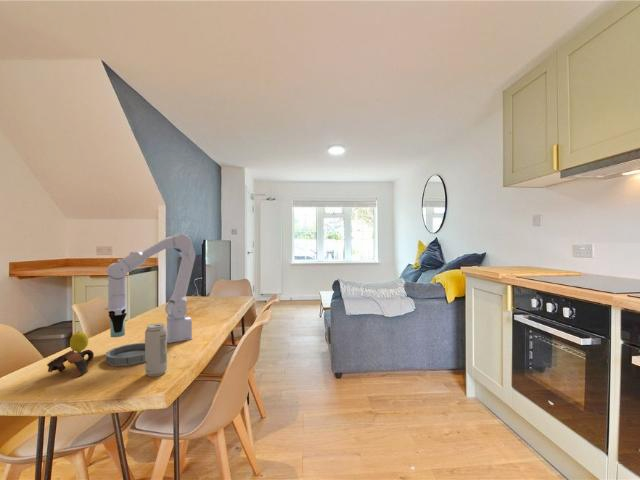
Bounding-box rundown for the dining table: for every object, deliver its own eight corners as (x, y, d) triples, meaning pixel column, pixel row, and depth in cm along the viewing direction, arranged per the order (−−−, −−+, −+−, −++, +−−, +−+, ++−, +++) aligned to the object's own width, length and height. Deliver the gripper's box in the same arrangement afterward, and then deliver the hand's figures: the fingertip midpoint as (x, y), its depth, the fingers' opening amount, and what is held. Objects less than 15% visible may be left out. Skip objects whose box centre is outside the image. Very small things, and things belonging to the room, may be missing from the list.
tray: (154, 347, 127) (154, 340, 127) (160, 359, 114) (160, 351, 114) (105, 355, 118) (105, 348, 118) (106, 370, 105) (105, 361, 105)
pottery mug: (65, 384, 96) (50, 360, 96) (52, 392, 101) (38, 369, 100) (104, 360, 107) (91, 339, 107) (92, 368, 111) (78, 347, 111)
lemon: (78, 355, 119) (78, 333, 119) (66, 354, 120) (65, 332, 120) (92, 350, 124) (91, 329, 124) (79, 349, 126) (79, 328, 126)
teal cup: (124, 333, 127) (124, 317, 127) (125, 335, 123) (124, 319, 123) (110, 335, 125) (110, 319, 125) (110, 338, 121) (110, 321, 121)
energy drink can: (150, 369, 105) (150, 323, 105) (170, 369, 106) (169, 322, 106) (141, 377, 99) (141, 328, 99) (162, 377, 100) (161, 327, 100)
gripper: (104, 293, 128) (104, 328, 128) (104, 298, 116) (105, 337, 116) (125, 291, 132) (125, 325, 132) (127, 296, 120) (128, 333, 120)
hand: (117, 330), depth 124 cm, fingers closed on teal cup, 5 cm apart
